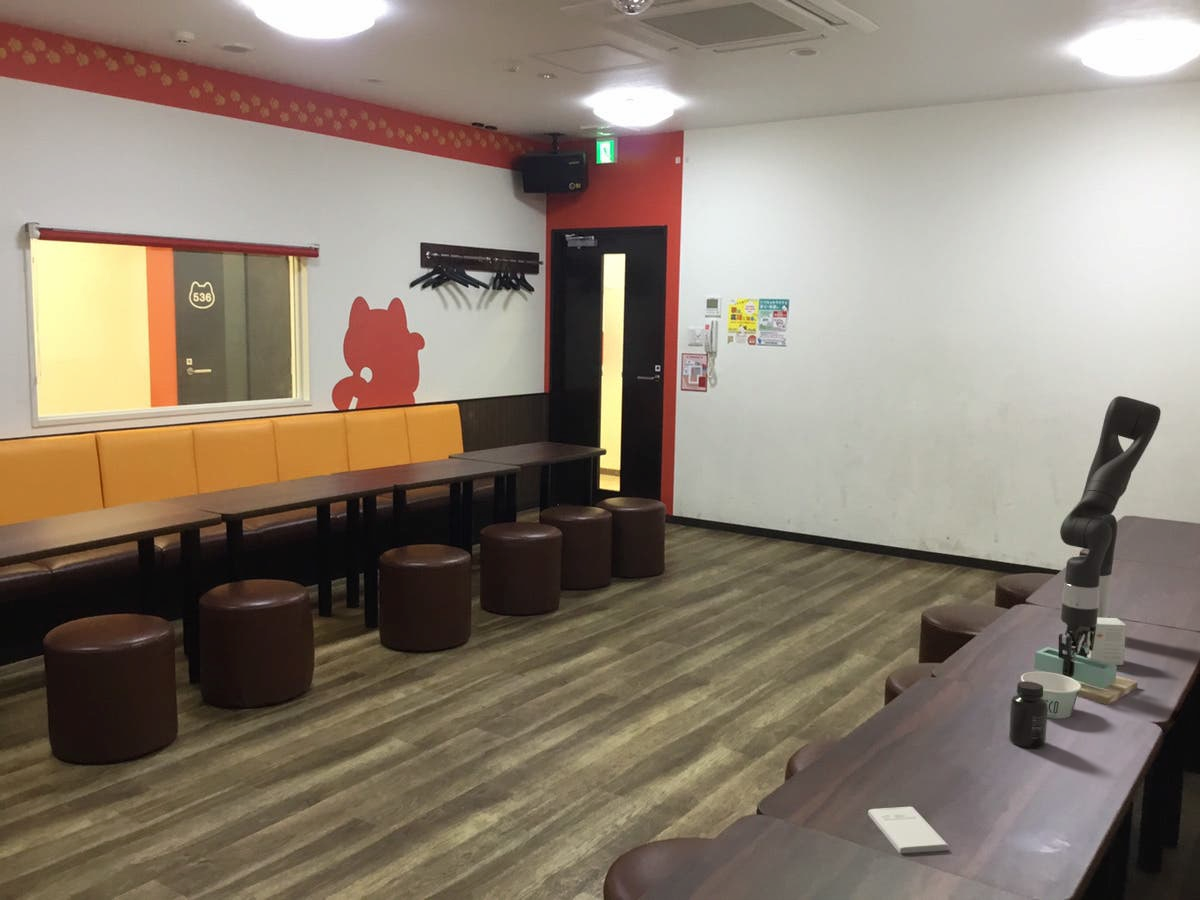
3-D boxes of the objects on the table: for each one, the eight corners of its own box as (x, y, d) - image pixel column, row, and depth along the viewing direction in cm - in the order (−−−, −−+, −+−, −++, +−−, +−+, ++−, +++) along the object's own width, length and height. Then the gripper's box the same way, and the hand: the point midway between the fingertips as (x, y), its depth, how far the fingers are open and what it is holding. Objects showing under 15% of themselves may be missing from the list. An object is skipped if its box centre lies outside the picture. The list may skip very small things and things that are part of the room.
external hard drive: (899, 857, 157) (867, 817, 169) (947, 853, 158) (912, 814, 170) (900, 847, 156) (868, 808, 169) (948, 844, 158) (913, 805, 170)
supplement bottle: (1043, 738, 200) (1048, 681, 198) (1046, 752, 194) (1051, 693, 192) (1007, 732, 202) (1011, 677, 201) (1009, 746, 196) (1013, 689, 194)
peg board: (1072, 669, 239) (1073, 651, 239) (1137, 687, 228) (1139, 669, 227) (1040, 684, 229) (1042, 666, 228) (1107, 704, 218) (1109, 685, 217)
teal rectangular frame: (1115, 682, 225) (1116, 665, 224) (1103, 688, 221) (1105, 671, 220) (1046, 662, 237) (1047, 646, 236) (1034, 668, 233) (1035, 652, 232)
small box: (1114, 658, 248) (1117, 617, 246) (1123, 665, 242) (1127, 624, 241) (1080, 656, 249) (1084, 616, 247) (1089, 664, 243) (1093, 623, 242)
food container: (1078, 705, 218) (1081, 676, 217) (1079, 725, 207) (1082, 695, 206) (1019, 695, 222) (1021, 667, 222) (1017, 715, 212) (1019, 685, 211)
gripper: (1082, 612, 219) (1076, 684, 221) (1110, 601, 228) (1104, 670, 230) (1049, 604, 225) (1043, 675, 227) (1078, 593, 234) (1072, 661, 236)
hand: (1074, 672), depth 229 cm, fingers closed on teal rectangular frame, 6 cm apart
